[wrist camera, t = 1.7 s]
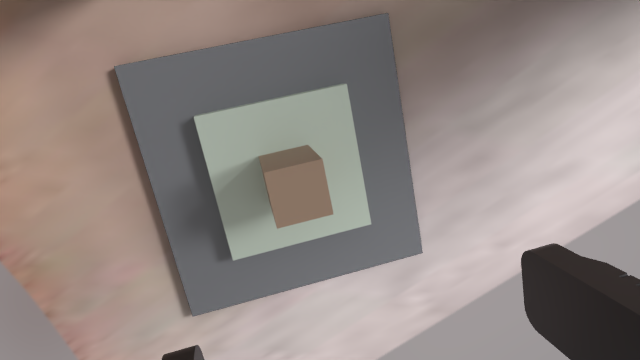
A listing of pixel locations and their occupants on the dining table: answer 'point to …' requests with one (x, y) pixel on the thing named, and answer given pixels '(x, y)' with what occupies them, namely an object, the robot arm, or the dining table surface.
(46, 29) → the dining table surface
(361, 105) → the mat
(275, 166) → the lid
